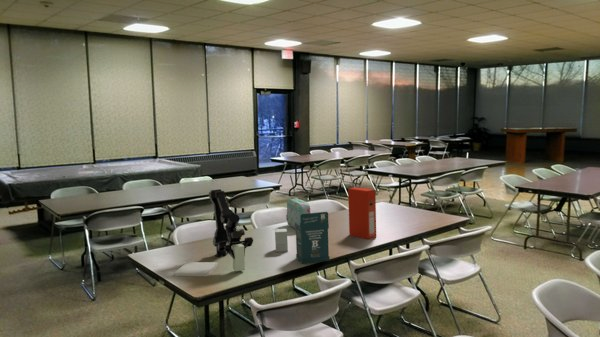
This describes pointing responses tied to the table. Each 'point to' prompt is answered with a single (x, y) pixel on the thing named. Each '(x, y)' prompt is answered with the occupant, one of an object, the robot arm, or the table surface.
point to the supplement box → (281, 240)
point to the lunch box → (296, 210)
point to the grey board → (196, 269)
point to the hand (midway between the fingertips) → (239, 257)
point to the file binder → (362, 212)
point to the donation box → (312, 238)
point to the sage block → (238, 257)
